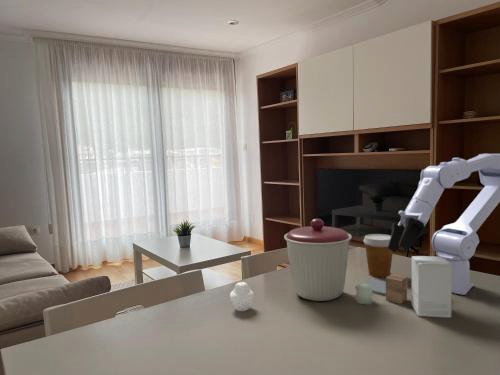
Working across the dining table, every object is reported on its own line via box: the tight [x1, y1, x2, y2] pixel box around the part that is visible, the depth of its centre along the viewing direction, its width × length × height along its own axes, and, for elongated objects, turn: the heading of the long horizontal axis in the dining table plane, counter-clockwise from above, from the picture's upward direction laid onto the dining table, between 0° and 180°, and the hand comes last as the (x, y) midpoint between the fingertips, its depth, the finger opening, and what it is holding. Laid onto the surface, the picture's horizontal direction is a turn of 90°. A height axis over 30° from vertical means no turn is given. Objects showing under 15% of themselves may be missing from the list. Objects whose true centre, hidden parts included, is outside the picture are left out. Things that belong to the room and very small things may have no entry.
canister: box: [283, 218, 353, 302], centre depth 103 cm, size 18×18×21 cm
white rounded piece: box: [229, 281, 255, 312], centre depth 95 cm, size 6×6×7 cm
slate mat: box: [360, 277, 386, 296], centre depth 107 cm, size 9×9×1 cm
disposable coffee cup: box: [363, 233, 394, 278], centre depth 118 cm, size 10×10×12 cm
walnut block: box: [385, 273, 408, 304], centre depth 98 cm, size 4×4×6 cm
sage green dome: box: [355, 283, 373, 305], centre depth 98 cm, size 4×4×4 cm
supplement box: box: [410, 255, 452, 318], centre depth 90 cm, size 7×7×13 cm
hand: (396, 249), depth 95 cm, fingers open, 7 cm apart
